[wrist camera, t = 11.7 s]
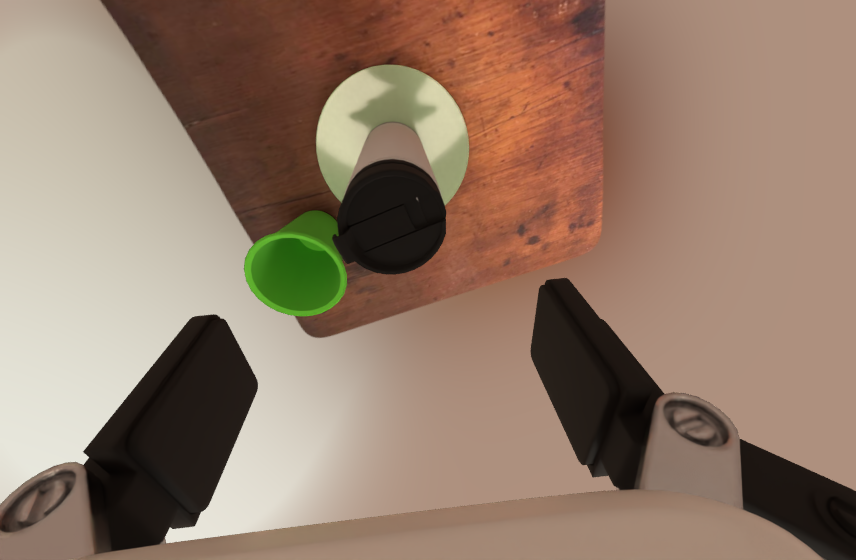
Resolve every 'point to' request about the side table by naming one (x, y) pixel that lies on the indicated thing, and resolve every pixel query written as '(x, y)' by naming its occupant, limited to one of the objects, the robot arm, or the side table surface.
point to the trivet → (391, 102)
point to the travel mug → (391, 204)
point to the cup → (298, 266)
